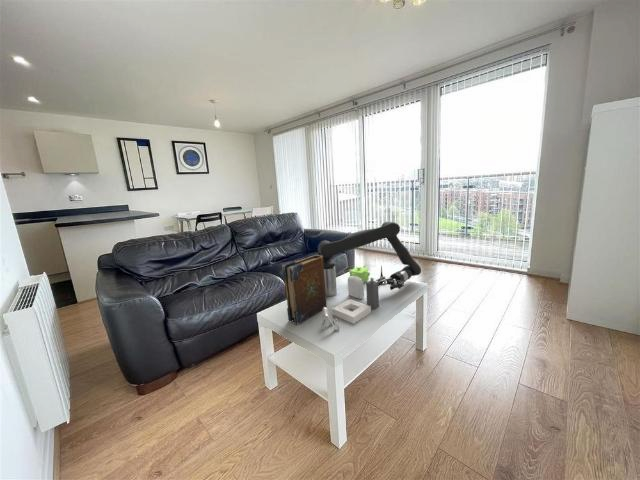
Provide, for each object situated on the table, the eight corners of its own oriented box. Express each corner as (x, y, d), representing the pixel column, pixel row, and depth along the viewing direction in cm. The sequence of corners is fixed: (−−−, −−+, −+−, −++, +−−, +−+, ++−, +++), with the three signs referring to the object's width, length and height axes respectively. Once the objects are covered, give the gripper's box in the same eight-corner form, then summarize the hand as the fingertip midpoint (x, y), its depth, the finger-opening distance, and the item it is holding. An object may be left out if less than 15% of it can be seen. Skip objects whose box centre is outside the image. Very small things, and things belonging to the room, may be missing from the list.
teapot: (365, 277, 182) (365, 263, 180) (374, 283, 169) (374, 268, 167) (345, 280, 178) (344, 266, 176) (352, 287, 166) (352, 272, 163)
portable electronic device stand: (339, 330, 118) (338, 314, 117) (322, 332, 118) (321, 316, 116) (337, 321, 127) (336, 305, 125) (321, 323, 126) (320, 307, 125)
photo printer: (347, 294, 155) (346, 275, 153) (352, 292, 158) (351, 273, 155) (360, 300, 148) (359, 279, 145) (365, 297, 150) (364, 277, 148)
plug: (367, 307, 139) (365, 278, 135) (371, 304, 142) (371, 276, 138) (374, 309, 135) (373, 280, 132) (378, 306, 138) (378, 277, 135)
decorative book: (297, 325, 125) (291, 267, 119) (288, 321, 130) (282, 265, 124) (328, 307, 142) (325, 255, 136) (319, 303, 147) (315, 253, 140)
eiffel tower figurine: (396, 284, 167) (396, 264, 165) (387, 288, 161) (387, 268, 158) (377, 278, 179) (377, 260, 176) (368, 283, 172) (368, 264, 169)
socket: (332, 314, 133) (332, 308, 133) (350, 304, 143) (349, 299, 142) (353, 323, 123) (353, 317, 123) (370, 312, 133) (370, 306, 132)
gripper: (388, 269, 159) (373, 277, 148) (410, 274, 149) (395, 283, 138) (388, 281, 161) (373, 289, 150) (410, 286, 150) (395, 295, 140)
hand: (384, 286), depth 144 cm, fingers open, 8 cm apart
